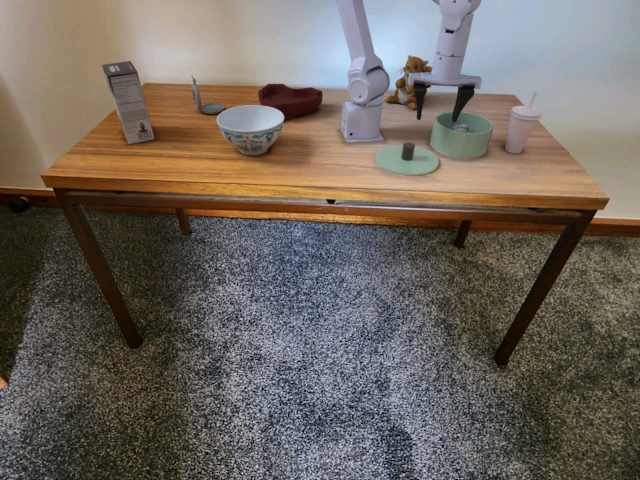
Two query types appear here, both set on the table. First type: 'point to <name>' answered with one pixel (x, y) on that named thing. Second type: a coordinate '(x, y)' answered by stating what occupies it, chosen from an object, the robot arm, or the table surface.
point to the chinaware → (251, 127)
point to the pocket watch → (206, 108)
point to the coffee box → (129, 101)
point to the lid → (407, 159)
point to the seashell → (460, 128)
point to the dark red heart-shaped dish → (290, 99)
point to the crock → (461, 135)
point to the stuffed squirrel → (404, 90)
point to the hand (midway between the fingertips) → (436, 119)
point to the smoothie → (521, 126)
